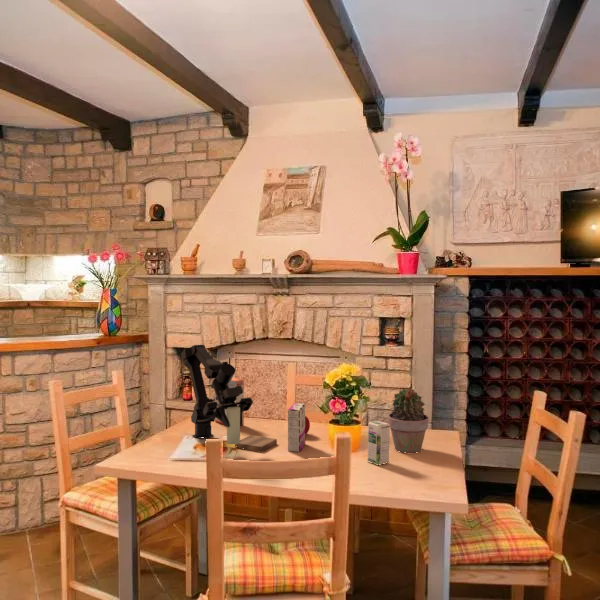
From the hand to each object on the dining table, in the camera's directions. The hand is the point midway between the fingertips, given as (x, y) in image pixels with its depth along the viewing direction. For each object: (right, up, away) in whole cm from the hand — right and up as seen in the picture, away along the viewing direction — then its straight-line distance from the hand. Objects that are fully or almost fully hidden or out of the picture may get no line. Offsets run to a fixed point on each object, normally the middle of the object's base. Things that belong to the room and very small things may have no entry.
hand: (235, 425), depth 205 cm
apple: (+24, -11, +29) cm, 39 cm away
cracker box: (-8, -10, +47) cm, 49 cm away
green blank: (-1, -7, +1) cm, 7 cm away
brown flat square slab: (+7, -11, +13) cm, 19 cm away
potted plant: (+66, -12, +11) cm, 68 cm away
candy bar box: (+23, -11, +11) cm, 28 cm away
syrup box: (+52, -12, -6) cm, 54 cm away
